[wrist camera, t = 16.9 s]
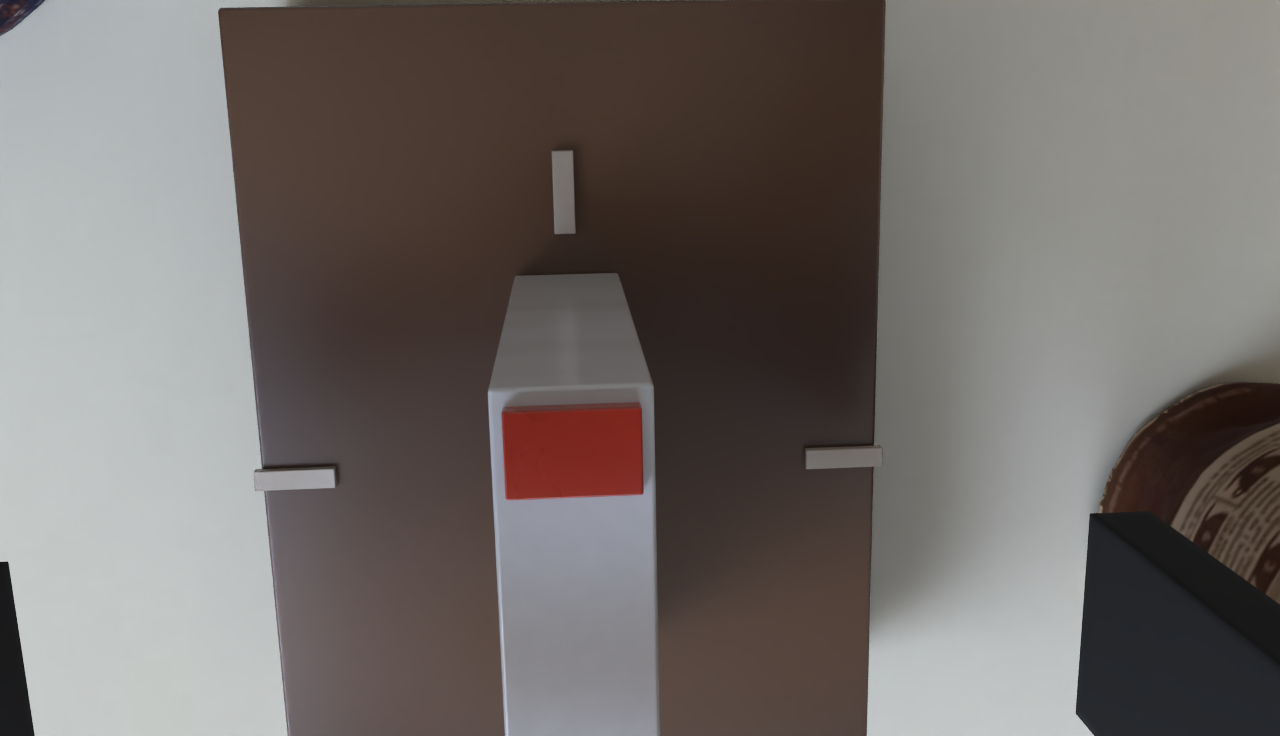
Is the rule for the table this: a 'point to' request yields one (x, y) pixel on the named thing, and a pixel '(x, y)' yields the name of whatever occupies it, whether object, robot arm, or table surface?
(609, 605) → the white block
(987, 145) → the table surface
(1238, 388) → the coffee cup
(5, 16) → the blue barrel
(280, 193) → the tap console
